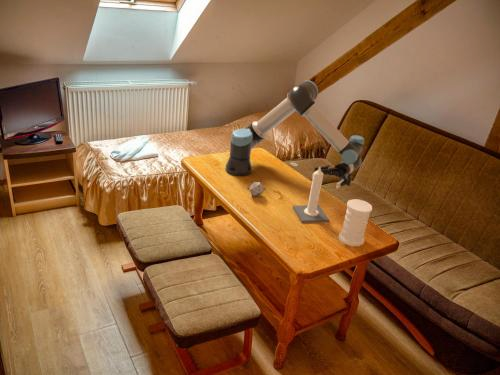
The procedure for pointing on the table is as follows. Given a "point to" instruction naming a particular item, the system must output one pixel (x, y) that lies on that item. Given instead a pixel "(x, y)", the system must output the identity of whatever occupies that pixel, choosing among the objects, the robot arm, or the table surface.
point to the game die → (256, 188)
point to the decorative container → (355, 222)
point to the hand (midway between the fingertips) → (324, 181)
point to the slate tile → (307, 219)
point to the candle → (314, 193)
